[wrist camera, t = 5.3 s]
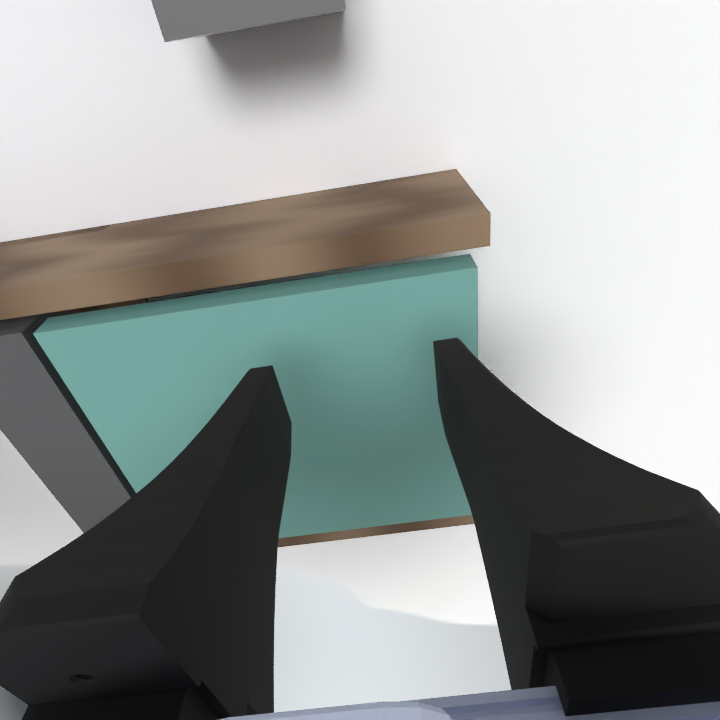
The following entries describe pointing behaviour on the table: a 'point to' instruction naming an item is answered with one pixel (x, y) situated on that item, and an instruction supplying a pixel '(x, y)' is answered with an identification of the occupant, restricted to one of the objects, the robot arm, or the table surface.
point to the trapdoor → (226, 369)
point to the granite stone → (232, 15)
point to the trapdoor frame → (246, 257)
